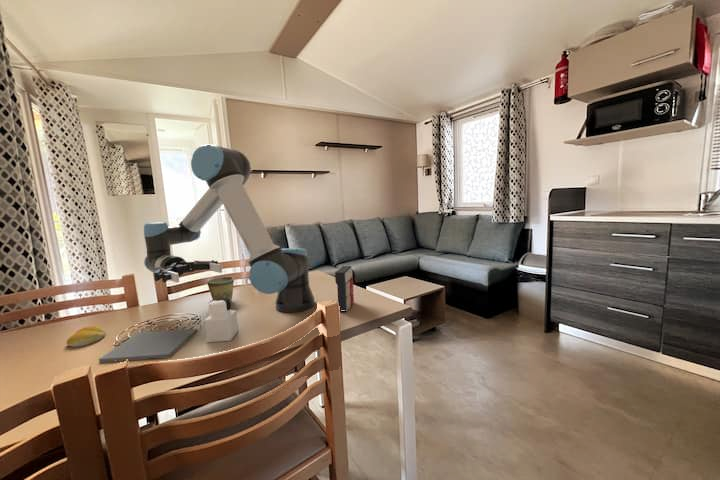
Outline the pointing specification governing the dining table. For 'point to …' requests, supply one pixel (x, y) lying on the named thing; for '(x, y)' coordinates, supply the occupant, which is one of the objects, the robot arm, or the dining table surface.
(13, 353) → the dining table surface
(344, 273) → the dark grey box
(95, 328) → the yellow seashell
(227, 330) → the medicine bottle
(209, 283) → the ceramic cup
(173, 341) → the mat
